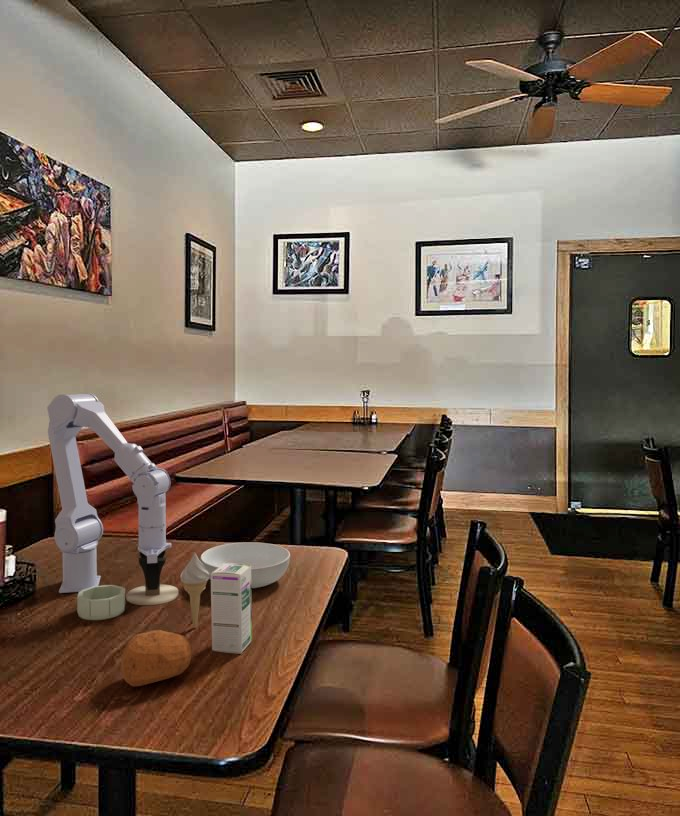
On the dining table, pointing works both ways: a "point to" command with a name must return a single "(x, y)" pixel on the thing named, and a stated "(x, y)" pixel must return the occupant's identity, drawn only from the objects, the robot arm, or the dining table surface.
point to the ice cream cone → (194, 583)
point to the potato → (155, 657)
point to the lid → (152, 595)
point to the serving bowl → (250, 560)
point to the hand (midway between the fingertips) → (152, 586)
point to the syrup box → (231, 608)
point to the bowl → (101, 602)
